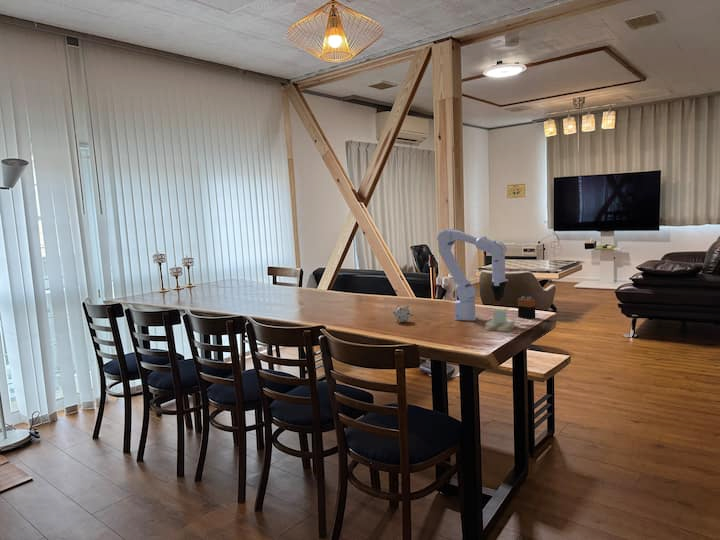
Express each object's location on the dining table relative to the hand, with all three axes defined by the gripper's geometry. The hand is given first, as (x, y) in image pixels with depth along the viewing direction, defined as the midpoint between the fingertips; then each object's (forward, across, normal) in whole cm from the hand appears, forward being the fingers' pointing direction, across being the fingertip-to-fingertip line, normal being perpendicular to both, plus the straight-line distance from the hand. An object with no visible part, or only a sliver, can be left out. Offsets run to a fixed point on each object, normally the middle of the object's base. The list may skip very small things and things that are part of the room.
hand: (499, 299), depth 230 cm
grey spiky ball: (+10, -10, +43) cm, 46 cm away
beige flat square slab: (+11, -12, -2) cm, 16 cm away
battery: (+11, +11, -11) cm, 19 cm away
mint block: (+8, -12, -2) cm, 14 cm away
